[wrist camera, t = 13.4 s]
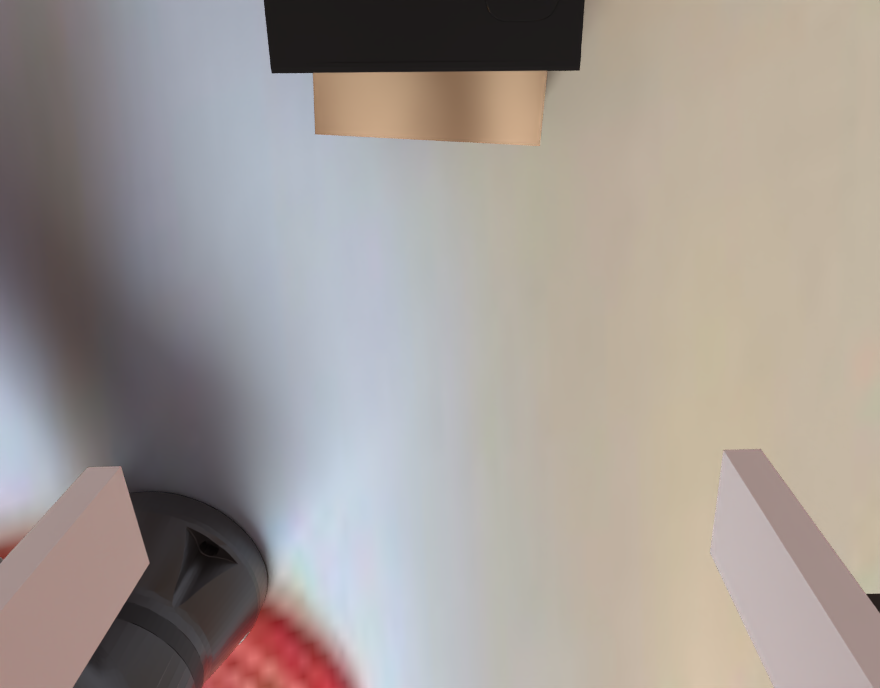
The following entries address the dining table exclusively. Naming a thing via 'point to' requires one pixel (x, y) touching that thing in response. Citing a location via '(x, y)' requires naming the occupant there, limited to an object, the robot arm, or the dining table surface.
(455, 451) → the dining table surface
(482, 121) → the tower top
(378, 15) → the digital camera
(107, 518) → the robot arm
